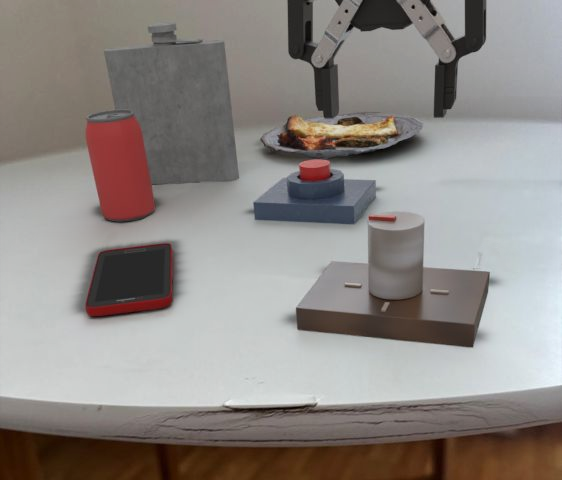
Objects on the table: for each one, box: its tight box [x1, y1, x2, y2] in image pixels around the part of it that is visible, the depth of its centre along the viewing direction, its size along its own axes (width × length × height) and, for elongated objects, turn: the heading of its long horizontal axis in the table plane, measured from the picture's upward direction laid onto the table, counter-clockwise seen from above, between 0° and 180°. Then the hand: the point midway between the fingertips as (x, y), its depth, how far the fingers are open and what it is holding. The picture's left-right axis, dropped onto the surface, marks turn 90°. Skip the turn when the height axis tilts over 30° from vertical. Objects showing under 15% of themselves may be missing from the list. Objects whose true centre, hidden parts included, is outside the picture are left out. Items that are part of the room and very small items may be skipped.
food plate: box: [259, 111, 425, 160], centre depth 108 cm, size 25×23×4 cm
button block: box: [252, 167, 377, 225], centre depth 82 cm, size 12×10×4 cm
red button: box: [298, 158, 331, 181], centre depth 81 cm, size 4×4×2 cm
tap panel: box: [295, 260, 491, 349], centre depth 58 cm, size 14×10×2 cm
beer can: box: [85, 109, 156, 223], centre depth 84 cm, size 7×7×12 cm
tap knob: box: [367, 211, 426, 300], centre depth 56 cm, size 4×4×6 cm
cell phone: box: [84, 242, 174, 317], centre depth 67 cm, size 8×15×1 cm, turn 8°
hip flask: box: [103, 22, 240, 186], centre depth 93 cm, size 16×4×20 cm, turn 83°
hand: (384, 116), depth 54 cm, fingers open, 8 cm apart
